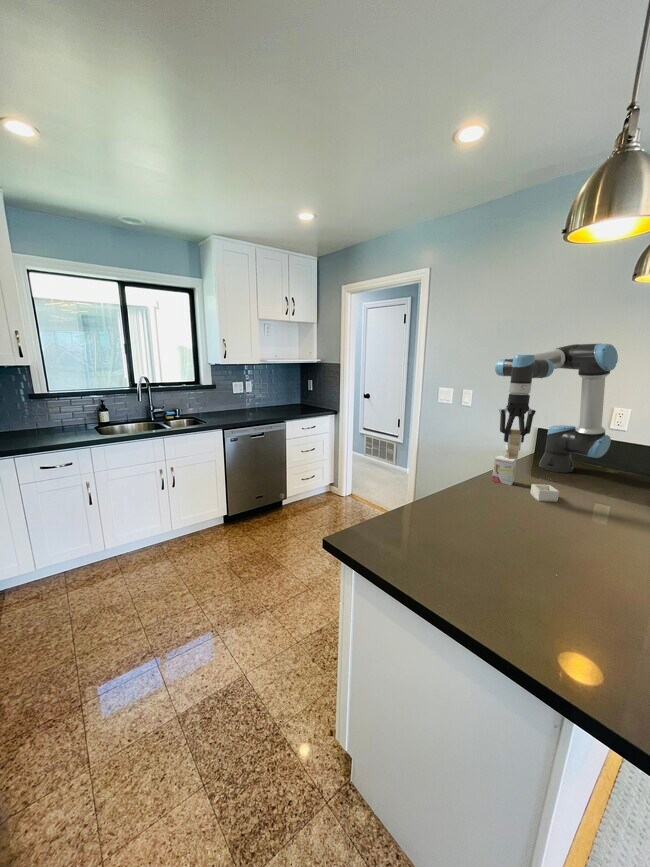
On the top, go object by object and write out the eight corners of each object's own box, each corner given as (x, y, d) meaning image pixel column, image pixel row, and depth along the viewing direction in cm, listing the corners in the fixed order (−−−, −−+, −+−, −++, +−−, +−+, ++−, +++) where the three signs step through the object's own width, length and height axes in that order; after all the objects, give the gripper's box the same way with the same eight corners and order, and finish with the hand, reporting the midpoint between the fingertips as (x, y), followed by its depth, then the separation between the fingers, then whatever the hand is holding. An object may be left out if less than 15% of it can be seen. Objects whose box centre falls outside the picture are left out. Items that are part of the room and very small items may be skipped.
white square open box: (530, 494, 151) (531, 484, 150) (548, 495, 150) (550, 485, 149) (538, 500, 144) (539, 490, 143) (557, 501, 143) (559, 491, 142)
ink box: (491, 481, 166) (494, 457, 164) (494, 478, 170) (496, 455, 168) (511, 485, 161) (514, 460, 159) (513, 482, 165) (516, 458, 162)
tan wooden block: (505, 456, 149) (508, 429, 146) (514, 456, 148) (517, 429, 146) (508, 458, 146) (511, 430, 143) (517, 459, 145) (521, 431, 142)
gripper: (500, 394, 138) (494, 451, 144) (545, 395, 136) (537, 452, 141) (494, 392, 146) (488, 446, 151) (537, 393, 144) (529, 448, 149)
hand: (512, 449), depth 146 cm, fingers closed on tan wooden block, 3 cm apart
